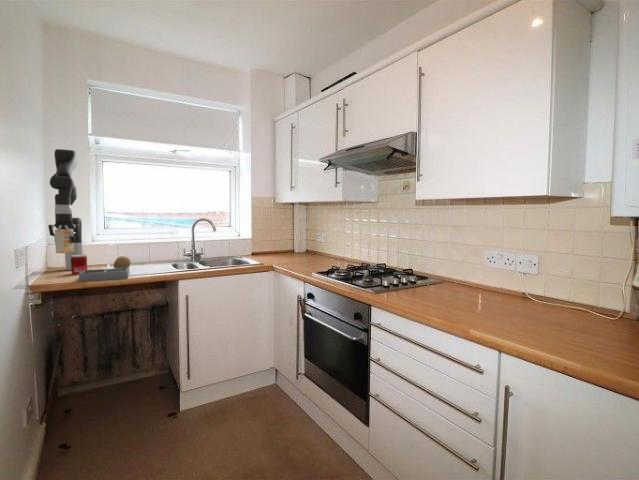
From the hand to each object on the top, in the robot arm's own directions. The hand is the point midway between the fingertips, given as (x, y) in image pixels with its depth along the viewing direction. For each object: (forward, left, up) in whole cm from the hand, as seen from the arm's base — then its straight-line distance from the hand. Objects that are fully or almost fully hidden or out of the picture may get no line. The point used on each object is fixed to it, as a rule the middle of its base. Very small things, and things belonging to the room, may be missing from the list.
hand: (64, 243), depth 195 cm
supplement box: (0, 0, -5) cm, 5 cm away
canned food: (-16, +3, -20) cm, 26 cm away
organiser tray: (+5, +19, -20) cm, 28 cm away
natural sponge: (-11, +26, -20) cm, 35 cm away
